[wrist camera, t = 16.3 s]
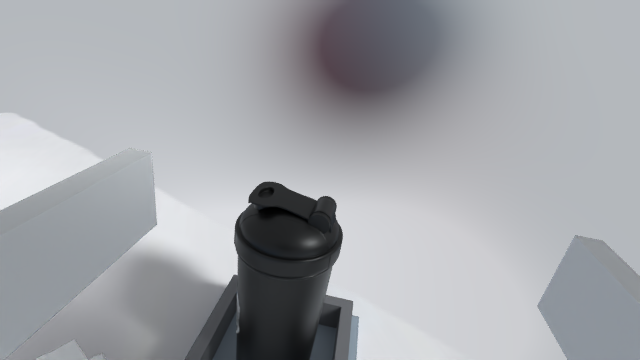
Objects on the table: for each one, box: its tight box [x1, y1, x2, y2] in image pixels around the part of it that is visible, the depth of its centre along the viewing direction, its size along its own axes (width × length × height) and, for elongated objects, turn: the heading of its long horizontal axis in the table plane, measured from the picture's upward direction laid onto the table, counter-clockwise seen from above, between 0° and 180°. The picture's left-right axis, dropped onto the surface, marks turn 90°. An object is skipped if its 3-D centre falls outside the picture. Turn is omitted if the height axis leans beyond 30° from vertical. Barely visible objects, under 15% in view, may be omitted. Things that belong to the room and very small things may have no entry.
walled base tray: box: [185, 275, 359, 360], centre depth 42 cm, size 20×20×5 cm
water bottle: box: [234, 182, 343, 360], centre depth 37 cm, size 10×10×23 cm
